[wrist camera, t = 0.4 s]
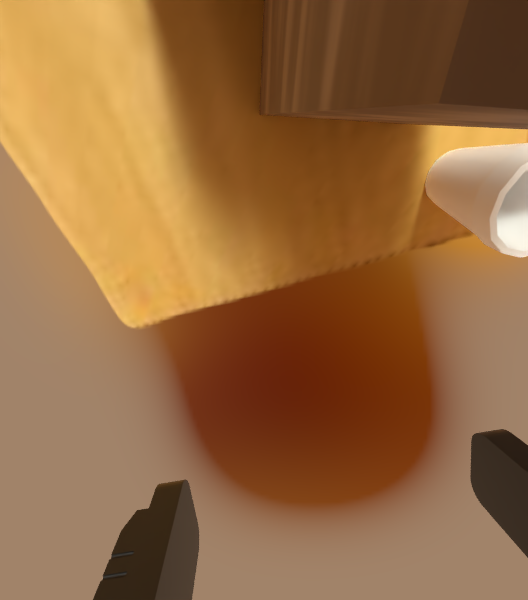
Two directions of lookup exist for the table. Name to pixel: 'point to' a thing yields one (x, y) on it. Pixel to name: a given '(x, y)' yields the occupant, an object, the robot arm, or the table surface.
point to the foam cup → (485, 193)
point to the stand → (397, 61)
